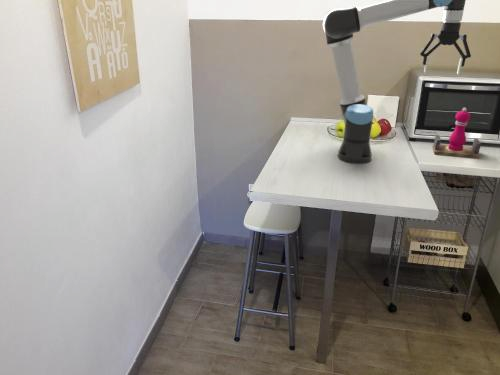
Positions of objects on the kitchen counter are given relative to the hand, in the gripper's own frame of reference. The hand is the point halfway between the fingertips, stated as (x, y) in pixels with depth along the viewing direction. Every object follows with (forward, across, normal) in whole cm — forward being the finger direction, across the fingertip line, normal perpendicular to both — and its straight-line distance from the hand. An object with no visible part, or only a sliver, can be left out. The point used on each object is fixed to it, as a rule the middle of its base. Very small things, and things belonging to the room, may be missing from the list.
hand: (441, 73), depth 179 cm
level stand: (+37, -13, -3) cm, 39 cm away
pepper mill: (+35, -13, -3) cm, 38 cm away
